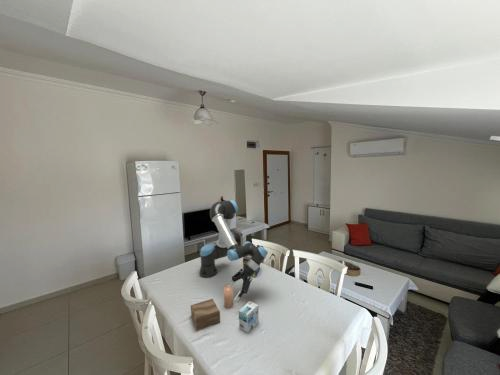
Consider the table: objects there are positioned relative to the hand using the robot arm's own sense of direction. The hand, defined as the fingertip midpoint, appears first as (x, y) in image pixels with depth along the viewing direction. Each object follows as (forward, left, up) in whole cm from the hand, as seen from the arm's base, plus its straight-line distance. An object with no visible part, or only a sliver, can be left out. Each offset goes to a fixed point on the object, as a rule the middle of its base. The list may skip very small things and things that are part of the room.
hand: (231, 295), depth 142 cm
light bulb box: (+21, +2, -7) cm, 22 cm away
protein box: (-32, +31, -7) cm, 45 cm away
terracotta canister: (-1, -2, -7) cm, 7 cm away
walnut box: (+4, -19, -7) cm, 20 cm away
